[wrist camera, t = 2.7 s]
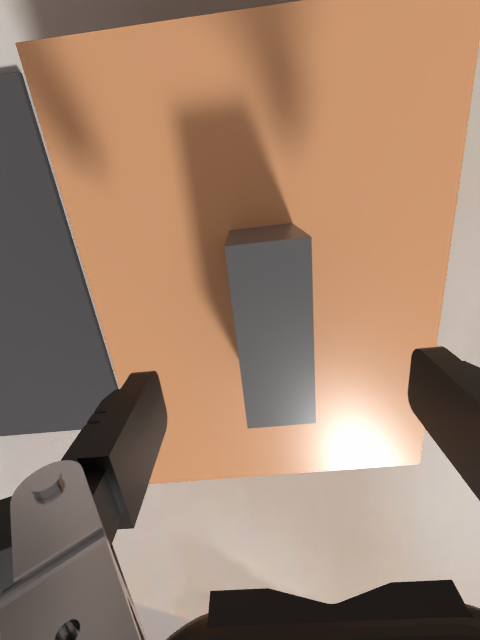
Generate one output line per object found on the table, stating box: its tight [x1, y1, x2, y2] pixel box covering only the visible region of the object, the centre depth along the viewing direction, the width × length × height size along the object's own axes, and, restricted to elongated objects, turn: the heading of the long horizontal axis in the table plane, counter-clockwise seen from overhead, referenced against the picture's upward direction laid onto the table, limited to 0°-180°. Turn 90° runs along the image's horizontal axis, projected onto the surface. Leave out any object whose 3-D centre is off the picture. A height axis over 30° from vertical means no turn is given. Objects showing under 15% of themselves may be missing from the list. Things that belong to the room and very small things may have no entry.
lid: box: [16, 0, 480, 484], centre depth 15 cm, size 18×24×6 cm
